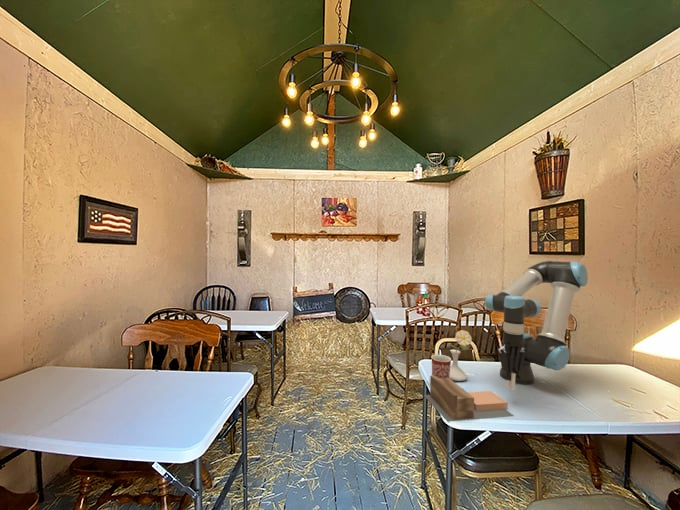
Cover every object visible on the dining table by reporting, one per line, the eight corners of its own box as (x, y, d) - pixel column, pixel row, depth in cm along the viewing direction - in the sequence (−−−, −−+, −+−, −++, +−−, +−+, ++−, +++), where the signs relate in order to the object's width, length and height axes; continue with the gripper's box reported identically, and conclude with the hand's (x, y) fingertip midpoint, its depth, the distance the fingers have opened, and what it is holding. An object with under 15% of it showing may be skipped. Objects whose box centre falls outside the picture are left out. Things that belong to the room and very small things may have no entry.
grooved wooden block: (448, 394, 128) (448, 374, 128) (473, 417, 110) (474, 394, 110) (430, 395, 127) (430, 375, 126) (452, 419, 109) (453, 395, 109)
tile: (490, 396, 127) (490, 390, 127) (507, 408, 117) (507, 402, 117) (461, 398, 125) (461, 392, 125) (476, 411, 115) (476, 404, 115)
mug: (453, 391, 132) (453, 361, 132) (432, 389, 133) (433, 360, 133) (445, 379, 145) (446, 352, 145) (427, 378, 146) (428, 351, 146)
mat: (481, 392, 132) (481, 391, 132) (514, 417, 112) (514, 416, 112) (423, 396, 127) (423, 395, 127) (448, 422, 107) (448, 421, 107)
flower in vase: (442, 380, 143) (443, 330, 143) (443, 372, 154) (444, 325, 154) (471, 385, 138) (472, 333, 138) (470, 376, 149) (471, 328, 149)
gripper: (519, 330, 128) (517, 383, 128) (493, 330, 126) (491, 384, 126) (533, 334, 120) (531, 391, 120) (506, 334, 118) (503, 392, 118)
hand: (510, 387), depth 123 cm, fingers closed
